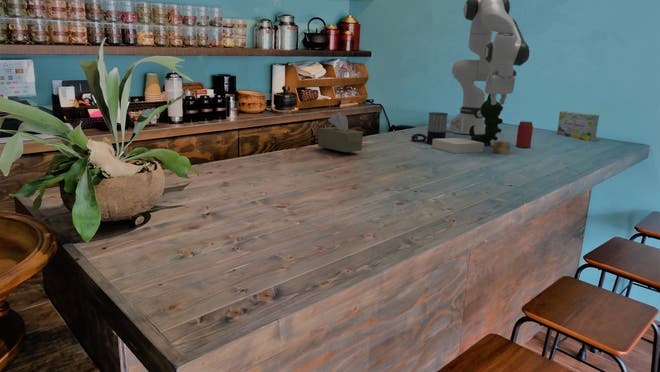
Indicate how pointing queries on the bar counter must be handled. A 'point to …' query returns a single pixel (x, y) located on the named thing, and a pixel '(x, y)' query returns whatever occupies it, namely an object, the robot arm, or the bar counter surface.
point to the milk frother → (434, 128)
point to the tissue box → (340, 136)
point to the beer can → (524, 134)
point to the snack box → (578, 125)
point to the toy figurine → (488, 122)
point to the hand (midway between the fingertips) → (497, 104)
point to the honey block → (501, 147)
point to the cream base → (458, 145)
